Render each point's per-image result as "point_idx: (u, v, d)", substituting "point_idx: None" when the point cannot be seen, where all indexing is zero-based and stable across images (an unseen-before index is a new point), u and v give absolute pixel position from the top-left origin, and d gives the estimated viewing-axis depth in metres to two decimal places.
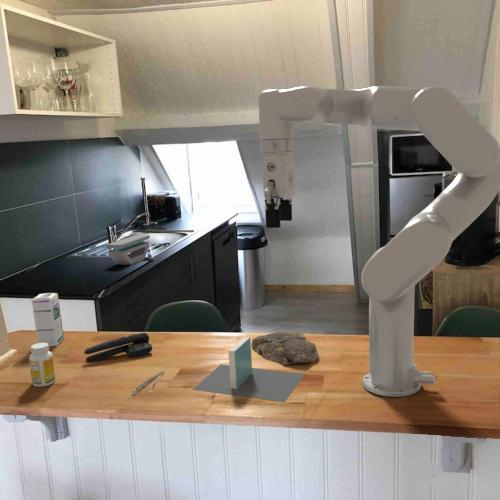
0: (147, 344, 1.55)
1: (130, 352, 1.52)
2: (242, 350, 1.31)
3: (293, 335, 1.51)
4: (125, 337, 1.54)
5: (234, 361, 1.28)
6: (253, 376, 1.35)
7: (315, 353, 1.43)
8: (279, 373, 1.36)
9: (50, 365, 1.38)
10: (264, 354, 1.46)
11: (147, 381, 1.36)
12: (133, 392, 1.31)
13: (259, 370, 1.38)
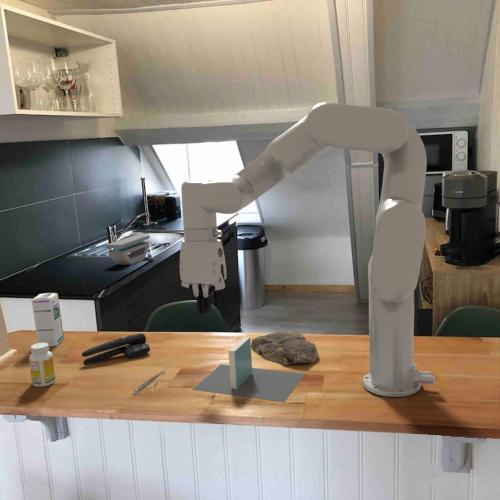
0: (145, 345, 1.55)
1: (128, 353, 1.52)
2: (242, 350, 1.31)
3: (293, 335, 1.51)
4: (123, 338, 1.53)
5: (234, 361, 1.28)
6: (253, 376, 1.35)
7: (315, 353, 1.42)
8: (279, 373, 1.36)
9: (50, 365, 1.38)
10: (264, 354, 1.46)
11: (149, 380, 1.36)
12: (135, 391, 1.31)
13: (259, 370, 1.38)
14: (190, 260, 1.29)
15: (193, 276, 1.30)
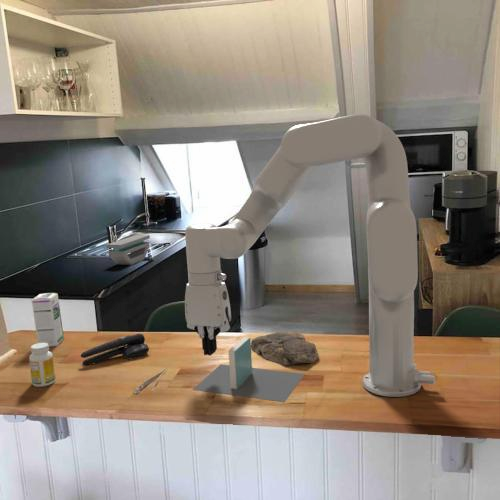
0: (144, 345, 1.54)
1: (128, 353, 1.51)
2: (242, 350, 1.31)
3: (292, 335, 1.51)
4: (121, 339, 1.53)
5: (234, 361, 1.28)
6: (253, 376, 1.35)
7: (315, 353, 1.42)
8: (279, 373, 1.36)
9: (50, 365, 1.38)
10: (264, 355, 1.46)
11: (149, 380, 1.36)
12: (136, 391, 1.31)
13: (259, 370, 1.38)
14: (195, 303, 1.31)
15: (198, 319, 1.32)
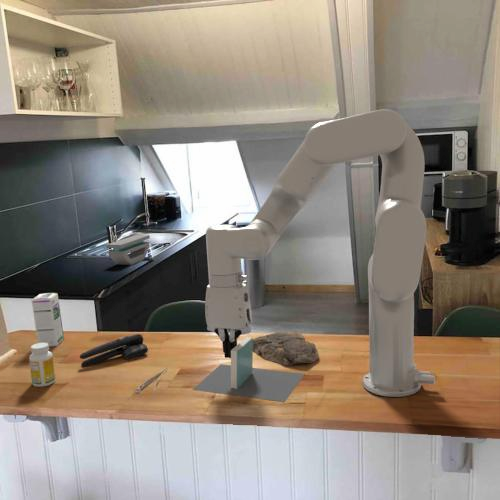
0: (142, 345, 1.54)
1: (127, 354, 1.51)
2: (244, 350, 1.31)
3: (292, 335, 1.51)
4: (120, 339, 1.52)
5: (236, 361, 1.27)
6: (253, 376, 1.35)
7: (315, 353, 1.42)
8: (279, 373, 1.36)
9: (50, 365, 1.38)
10: (264, 355, 1.46)
11: (150, 379, 1.37)
12: (137, 390, 1.31)
13: (259, 370, 1.38)
14: (216, 305, 1.29)
15: (219, 321, 1.30)
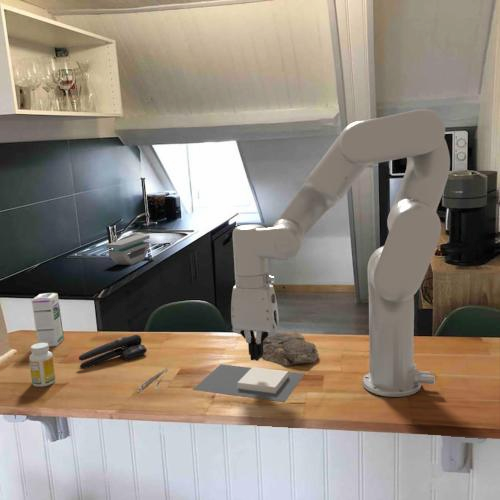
0: (141, 346, 1.54)
1: (126, 355, 1.51)
2: None
3: (292, 336, 1.50)
4: (119, 340, 1.52)
5: (265, 391, 1.26)
6: None
7: (315, 353, 1.42)
8: None
9: (50, 365, 1.38)
10: (264, 355, 1.46)
11: (151, 378, 1.37)
12: (138, 389, 1.32)
13: None
14: (242, 307, 1.26)
15: (245, 323, 1.27)
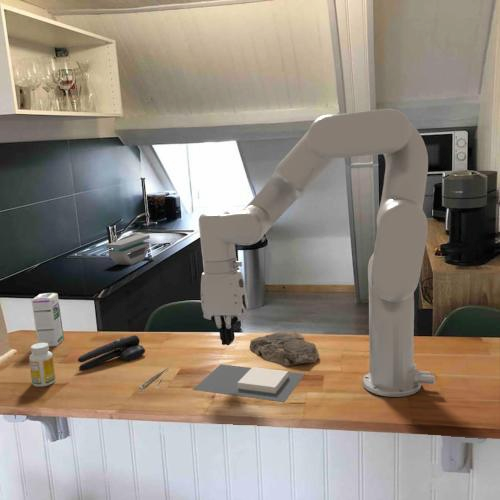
0: (139, 346, 1.54)
1: (125, 356, 1.50)
2: None
3: (292, 336, 1.50)
4: (117, 341, 1.51)
5: (265, 391, 1.26)
6: None
7: (316, 353, 1.42)
8: None
9: (50, 365, 1.38)
10: (264, 356, 1.46)
11: (153, 378, 1.37)
12: (140, 389, 1.32)
13: None
14: (211, 292, 1.29)
15: (215, 308, 1.29)
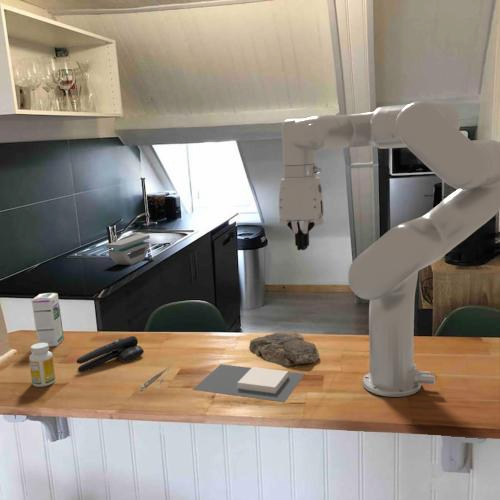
0: (138, 347, 1.53)
1: (124, 356, 1.49)
2: None
3: (292, 336, 1.50)
4: (116, 342, 1.50)
5: (265, 391, 1.26)
6: None
7: (316, 353, 1.42)
8: None
9: (50, 365, 1.38)
10: (264, 356, 1.45)
11: (154, 377, 1.38)
12: (141, 388, 1.33)
13: None
14: (290, 197, 1.34)
15: (293, 213, 1.34)
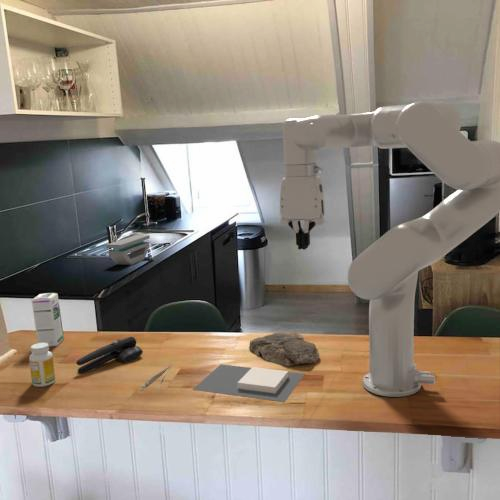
0: (137, 347, 1.53)
1: (123, 357, 1.49)
2: None
3: (291, 336, 1.50)
4: (115, 343, 1.50)
5: (265, 391, 1.26)
6: None
7: (316, 353, 1.42)
8: None
9: (50, 365, 1.38)
10: (264, 356, 1.45)
11: (155, 376, 1.38)
12: (142, 387, 1.33)
13: None
14: (291, 196, 1.34)
15: (294, 212, 1.34)
